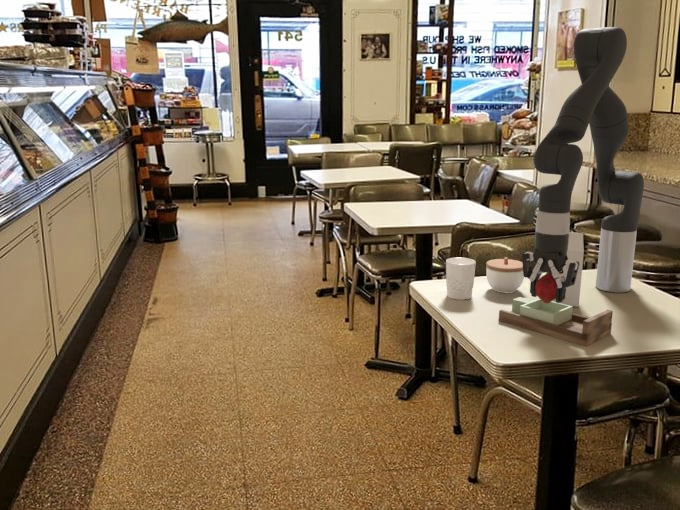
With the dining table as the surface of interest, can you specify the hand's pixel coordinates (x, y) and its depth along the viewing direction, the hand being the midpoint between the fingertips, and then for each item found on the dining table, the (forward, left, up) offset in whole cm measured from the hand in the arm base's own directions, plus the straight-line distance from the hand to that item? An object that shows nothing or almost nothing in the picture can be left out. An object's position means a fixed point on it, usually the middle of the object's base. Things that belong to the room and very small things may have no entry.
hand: (546, 298), depth 162 cm
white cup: (-3, -28, -7) cm, 29 cm away
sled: (0, -2, -5) cm, 5 cm away
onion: (0, 0, -1) cm, 1 cm away
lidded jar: (-17, -23, -7) cm, 29 cm away
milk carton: (-19, -6, -7) cm, 21 cm away
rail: (0, +2, -7) cm, 7 cm away
